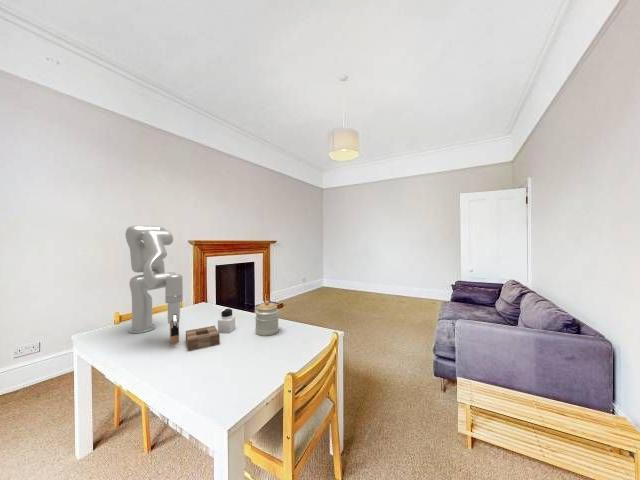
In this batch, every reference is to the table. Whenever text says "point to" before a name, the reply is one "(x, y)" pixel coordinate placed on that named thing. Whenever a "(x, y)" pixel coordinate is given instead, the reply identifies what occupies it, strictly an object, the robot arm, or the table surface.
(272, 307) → the jar
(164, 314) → the table surface
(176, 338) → the peg
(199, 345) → the socket block
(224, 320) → the medicine bottle
